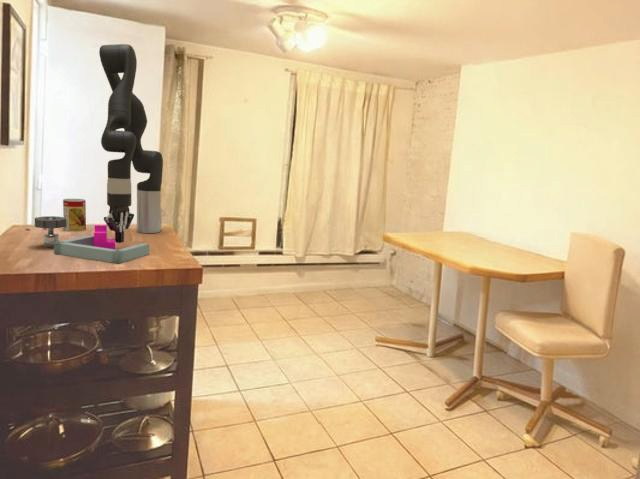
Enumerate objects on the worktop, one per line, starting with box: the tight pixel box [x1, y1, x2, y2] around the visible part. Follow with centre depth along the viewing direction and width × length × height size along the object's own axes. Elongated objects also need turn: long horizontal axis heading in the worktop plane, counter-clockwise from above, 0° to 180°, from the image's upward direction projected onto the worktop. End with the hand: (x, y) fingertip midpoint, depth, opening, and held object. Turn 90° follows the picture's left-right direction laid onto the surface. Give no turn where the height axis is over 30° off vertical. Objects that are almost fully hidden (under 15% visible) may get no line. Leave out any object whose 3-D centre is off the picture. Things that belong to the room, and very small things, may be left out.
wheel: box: [34, 215, 66, 229], centre depth 155 cm, size 9×9×2 cm
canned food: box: [62, 198, 87, 232], centre depth 186 cm, size 8×8×12 cm
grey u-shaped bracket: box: [53, 235, 150, 264], centre depth 152 cm, size 15×24×4 cm, turn 75°
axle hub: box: [42, 218, 60, 249], centre depth 156 cm, size 4×4×10 cm
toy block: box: [93, 224, 116, 250], centre depth 157 cm, size 15×6×8 cm, turn 25°
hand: (119, 242), depth 159 cm, fingers closed
